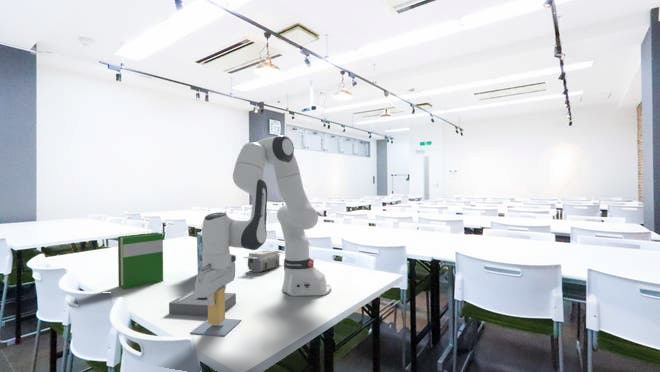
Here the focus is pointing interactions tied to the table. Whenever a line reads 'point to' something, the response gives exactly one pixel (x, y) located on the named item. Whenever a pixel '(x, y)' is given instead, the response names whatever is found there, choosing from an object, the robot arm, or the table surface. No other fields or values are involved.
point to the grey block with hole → (196, 304)
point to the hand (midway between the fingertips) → (216, 301)
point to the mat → (216, 328)
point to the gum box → (199, 250)
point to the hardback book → (140, 259)
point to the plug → (217, 307)
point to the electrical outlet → (263, 260)
